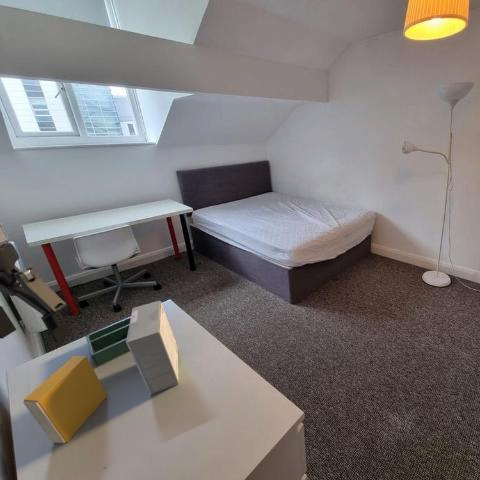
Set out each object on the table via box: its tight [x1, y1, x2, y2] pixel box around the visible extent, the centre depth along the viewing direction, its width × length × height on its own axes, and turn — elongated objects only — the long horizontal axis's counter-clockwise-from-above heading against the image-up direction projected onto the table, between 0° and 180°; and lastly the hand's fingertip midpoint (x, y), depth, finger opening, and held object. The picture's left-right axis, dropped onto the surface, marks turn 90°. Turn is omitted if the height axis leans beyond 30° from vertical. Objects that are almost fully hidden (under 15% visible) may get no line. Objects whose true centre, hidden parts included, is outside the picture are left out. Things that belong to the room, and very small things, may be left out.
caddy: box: [85, 316, 131, 368], centre depth 92 cm, size 12×16×5 cm
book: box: [22, 355, 108, 444], centre depth 66 cm, size 4×12×15 cm, turn 175°
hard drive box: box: [126, 300, 180, 396], centre depth 78 cm, size 16×8×20 cm, turn 27°
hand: (35, 335), depth 58 cm, fingers open, 13 cm apart
